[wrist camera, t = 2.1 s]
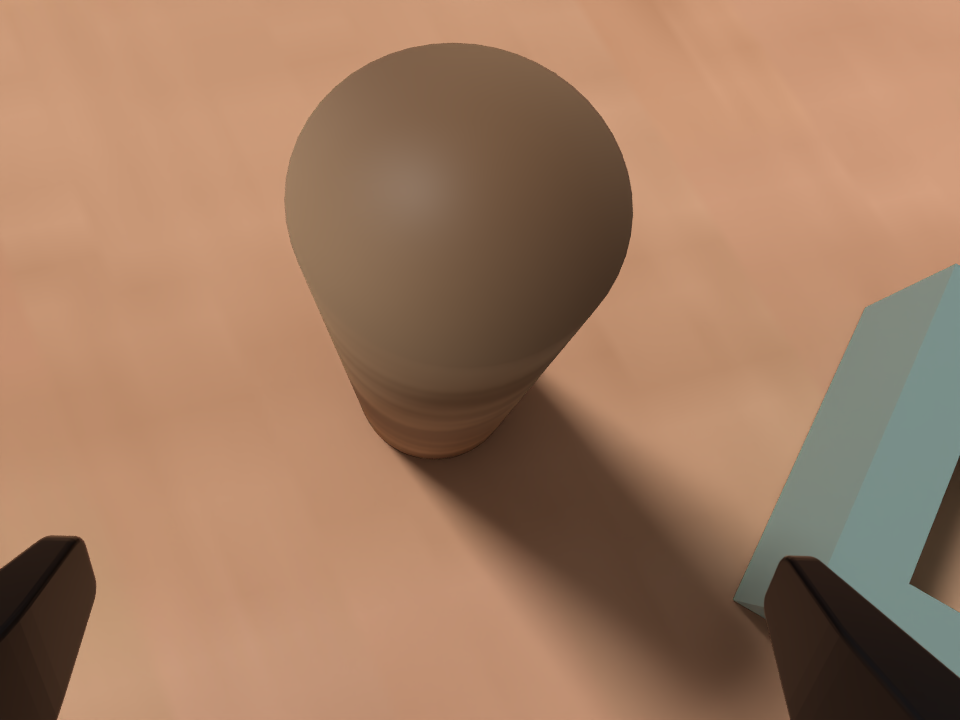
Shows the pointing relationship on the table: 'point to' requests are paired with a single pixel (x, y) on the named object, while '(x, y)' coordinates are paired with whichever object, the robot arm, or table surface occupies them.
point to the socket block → (879, 464)
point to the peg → (454, 233)
